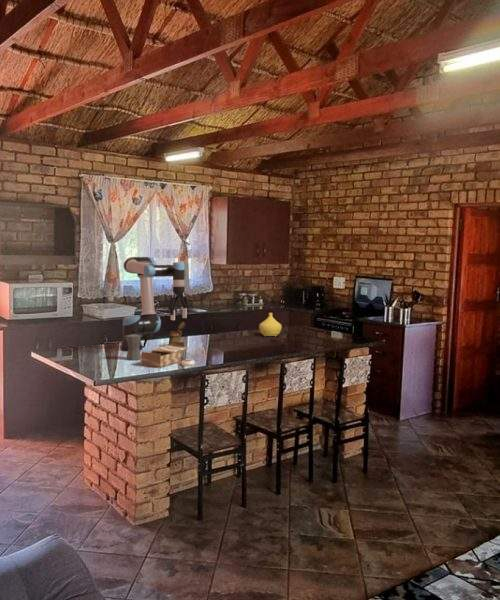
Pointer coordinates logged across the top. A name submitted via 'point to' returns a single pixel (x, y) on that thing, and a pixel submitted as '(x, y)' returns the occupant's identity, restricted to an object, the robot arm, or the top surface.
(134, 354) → the coffeepot
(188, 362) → the tape roll
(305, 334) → the top surface
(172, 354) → the box
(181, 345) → the lid
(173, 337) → the wooden mug
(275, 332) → the vase
